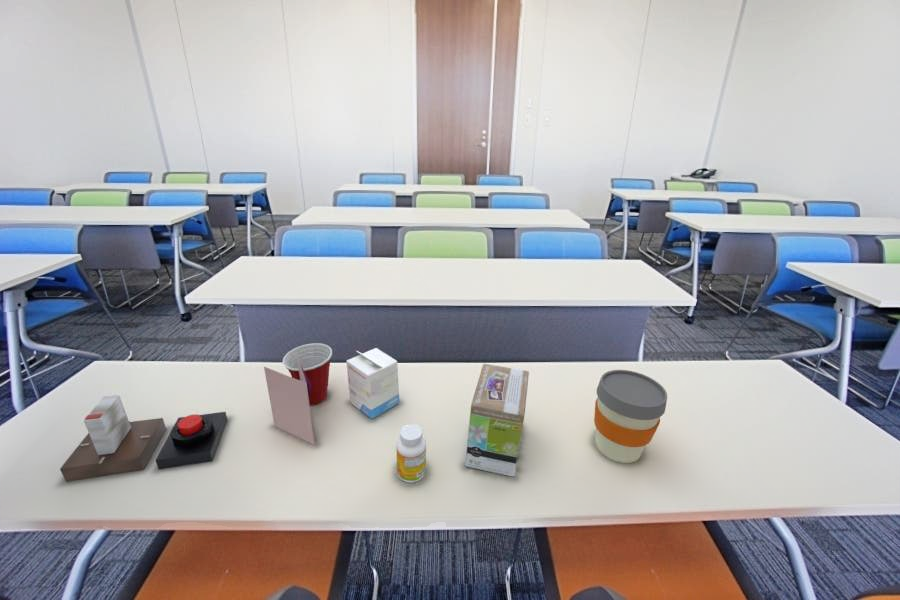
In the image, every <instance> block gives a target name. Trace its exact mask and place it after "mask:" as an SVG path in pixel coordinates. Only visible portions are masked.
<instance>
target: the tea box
mask: <svg viewBox="0 0 900 600" xmlns="http://www.w3.org/2000/svg"><path fill="white" fill-rule="evenodd" d="M529 374H530V371H529V370H524V369H518V368H511V367H507V366H506V367H505V366H501V365H500V366H499V365H495V364H488V363H483V364H482V367H481V370H480V374H479V377H478V381H477V383H476V387H475V390H474V394H473V396H472V401H471V405H470V413H469V423H468V431H467V433H468V434H467V443H466V454H465V463H464V465H465V467H468V468H472V469H476V470H480V471H486V472H490V473H493V474H499V475H504V476H508V477H513V478H514V477H515V476H516V472H517V466H518V460H519V454H520V449H521V441H522V434H523V430H524V429H523V428H524V421H525V414H526V405H527V396H528V385H529V376H530V375H529Z"/></svg>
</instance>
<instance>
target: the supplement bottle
mask: <svg viewBox="0 0 900 600" xmlns="http://www.w3.org/2000/svg"><path fill="white" fill-rule="evenodd" d="M423 435H424V434H423V429H422V427H421V426H419V425H417V424H413V423H412V424H411V423H410V424H407V425H404V426H403V427H402V428H401V429H400V432H399V437H398V439H397V441H396V446H395V447H396V473H397V476H398V478H399V479H400V480H401V481H403V482H405V483H416V482H418V481H420V480H422V479H423V478H424V477H425V475H426V471H427V442H426V439H425V438H424V437H425V436H423Z"/></svg>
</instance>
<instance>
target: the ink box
mask: <svg viewBox="0 0 900 600" xmlns="http://www.w3.org/2000/svg"><path fill="white" fill-rule="evenodd" d="M356 353H357V355H356V356H353V357H351V358H349V359H346V371H347V373H346V374H347V382H348V392H349V393H348V394H349V402H350V404H351V405H352V406H354V407H355V408H356V409H358V410H359V411H361V412H362V413H363V414H364V415H366V416H367V417H368V418H369V419H371V420H374V419H375V418H377V417H378V416H380V415H381V414H383V413H385V412H386V411H388V410H390V409H392V408H393V407H395V406H396V405H398V404H399V403H400V392H399V391H400V389H399V369H398V366H399V365H398V360H396V359H395V358H393V357H392V356H391V355H389V354H387V353H385V352H384V351H382V350H380V349H379V348H378V347H374V348H372V349H370V350H367V351H365V352H363V353H362V352H360V351H358V350H356Z"/></svg>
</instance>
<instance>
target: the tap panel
mask: <svg viewBox="0 0 900 600" xmlns="http://www.w3.org/2000/svg"><path fill="white" fill-rule="evenodd" d="M129 423H130V426H131V429H130V430H129V432H128V433H127V435H126V436H125V438H124V439H123V440H122V442H121V443H120V445H119V446H118V448H117V449H116V451H115V452H114V453H112V454H105V455H98V454H97V451H96V449H95V447H94V444H93V442H92V440H91V437H90V435H89V432H88V433H87V434H86V435H85V437H84V438H83V439H82V441H81V442H79V444H78V446H77V447H76V448H75V449H74V451H73V452H72V453H71V454H70V456H69V457H68V458H67V459H66V460H65V462H64V463H63V464H62V466H60V468H59V470H60V472H61V474H62V477H63V478H64V481H65V482H71V481H78V480H84V479H91V478H97V477H105V476H110V475H111V476H112V475H118V474H123V473H130V472H138V471H143V470H145V468H146V467H147V465H148V463H149V461H150V460H151V458H152V456H153V454H154V452H155V451H156V449H157V447H158V445H159V444H160V441H161V439H162V438H163V436H164V434H165V432H166V431H167V427H166V424H165V420H164V418H163V417H158V418H150V419H142V420H135V421H130V420H129Z"/></svg>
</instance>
